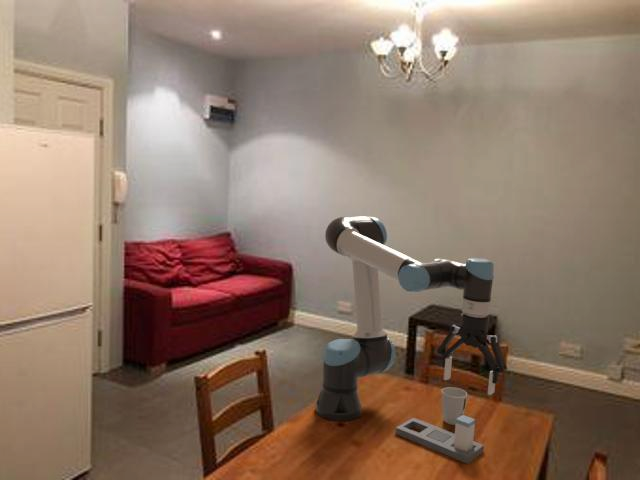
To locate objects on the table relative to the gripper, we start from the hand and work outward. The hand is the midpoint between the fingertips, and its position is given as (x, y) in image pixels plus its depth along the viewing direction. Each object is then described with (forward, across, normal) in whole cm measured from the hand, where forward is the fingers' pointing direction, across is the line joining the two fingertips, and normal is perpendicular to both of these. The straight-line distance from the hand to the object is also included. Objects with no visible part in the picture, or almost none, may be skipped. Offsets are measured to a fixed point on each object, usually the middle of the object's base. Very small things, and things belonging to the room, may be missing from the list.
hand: (468, 386), depth 157 cm
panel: (+20, -8, 0) cm, 22 cm away
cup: (+20, -12, +16) cm, 28 cm away
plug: (+20, 0, 0) cm, 20 cm away
